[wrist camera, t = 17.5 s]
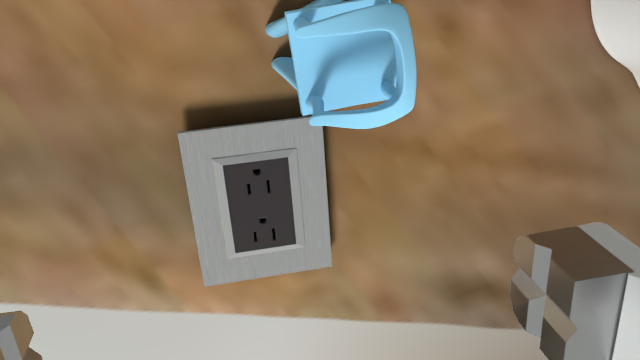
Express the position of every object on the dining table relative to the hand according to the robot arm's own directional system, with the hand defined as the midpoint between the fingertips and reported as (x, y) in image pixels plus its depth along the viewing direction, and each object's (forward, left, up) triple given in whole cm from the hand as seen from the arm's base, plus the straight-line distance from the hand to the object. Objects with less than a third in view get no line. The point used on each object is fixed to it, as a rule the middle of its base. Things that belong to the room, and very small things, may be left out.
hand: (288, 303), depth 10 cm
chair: (-7, +2, -34) cm, 35 cm away
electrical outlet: (-1, +14, -35) cm, 37 cm away
